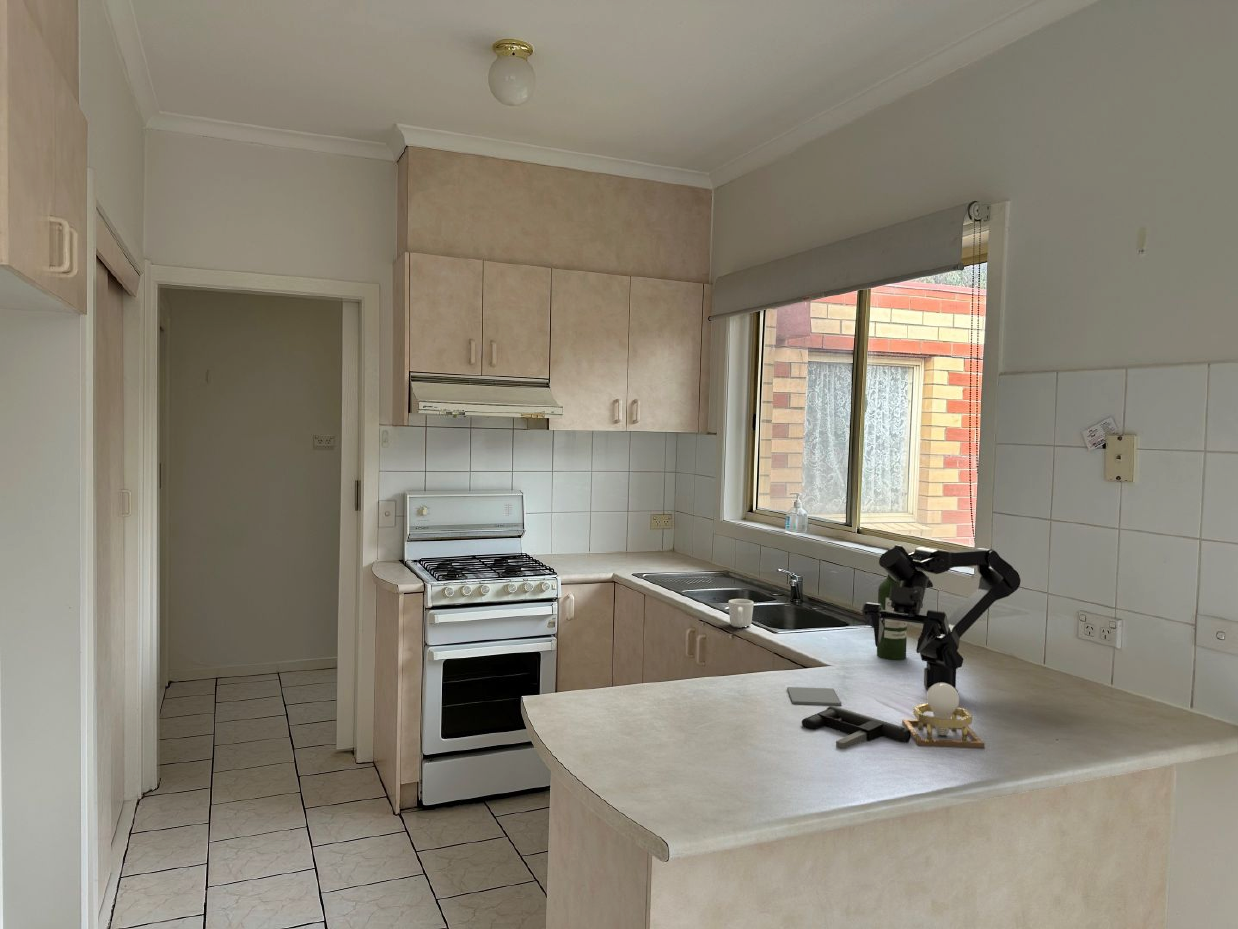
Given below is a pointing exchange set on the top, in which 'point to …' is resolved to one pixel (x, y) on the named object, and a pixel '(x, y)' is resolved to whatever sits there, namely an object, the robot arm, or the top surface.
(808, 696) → the mat
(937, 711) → the lightbulb
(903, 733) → the door handle
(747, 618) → the cup
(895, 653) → the wine bottle
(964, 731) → the ring stand
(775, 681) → the top surface
